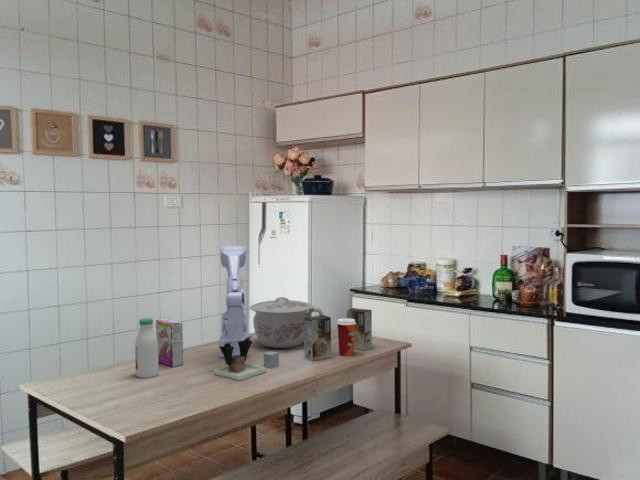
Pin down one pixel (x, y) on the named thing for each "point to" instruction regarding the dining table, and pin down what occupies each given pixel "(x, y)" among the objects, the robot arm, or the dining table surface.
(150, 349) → the milk bottle
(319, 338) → the coffee box
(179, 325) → the candy bar box
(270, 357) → the grey block
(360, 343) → the coffee box
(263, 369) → the tray
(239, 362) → the walnut block
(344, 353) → the paper cup
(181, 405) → the dining table surface
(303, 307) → the chamber pot
